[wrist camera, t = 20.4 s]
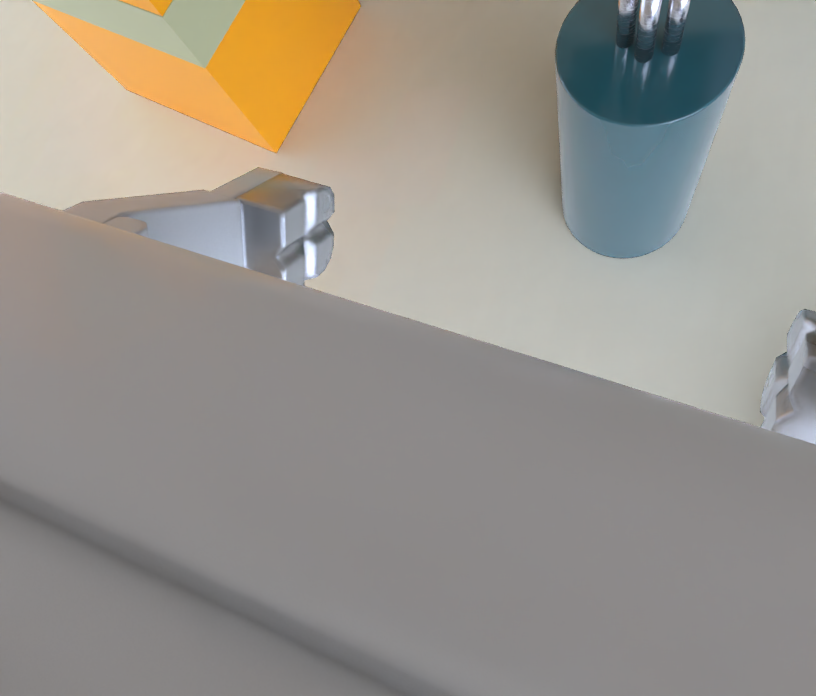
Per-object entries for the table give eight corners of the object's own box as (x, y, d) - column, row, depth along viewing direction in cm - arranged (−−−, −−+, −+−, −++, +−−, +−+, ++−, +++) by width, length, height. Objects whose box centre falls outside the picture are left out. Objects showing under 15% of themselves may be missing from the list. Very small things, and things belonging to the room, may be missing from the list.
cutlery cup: (703, 160, 25) (830, -200, 12) (668, 272, 25) (764, 12, 12) (583, 136, 26) (588, -214, 14) (546, 241, 26) (517, -24, 13)
